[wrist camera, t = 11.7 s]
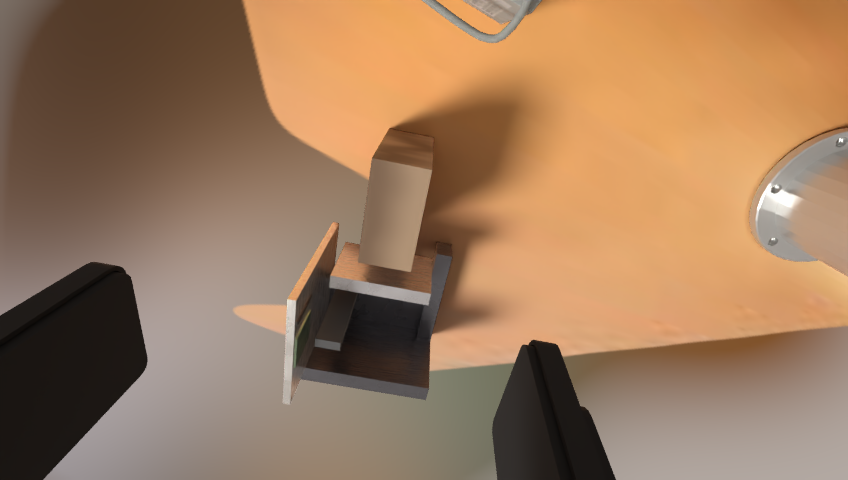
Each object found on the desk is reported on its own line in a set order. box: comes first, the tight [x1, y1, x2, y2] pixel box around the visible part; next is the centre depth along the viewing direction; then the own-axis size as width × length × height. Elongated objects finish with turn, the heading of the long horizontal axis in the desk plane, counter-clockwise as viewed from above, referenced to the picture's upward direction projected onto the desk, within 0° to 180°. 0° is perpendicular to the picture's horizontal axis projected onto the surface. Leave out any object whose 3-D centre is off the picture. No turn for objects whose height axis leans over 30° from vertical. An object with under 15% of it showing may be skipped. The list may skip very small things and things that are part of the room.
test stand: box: [283, 222, 452, 404], centre depth 36 cm, size 12×12×13 cm
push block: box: [358, 128, 434, 272], centre depth 32 cm, size 4×8×10 cm, turn 169°
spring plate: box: [329, 242, 432, 305], centre depth 35 cm, size 8×3×6 cm, turn 79°
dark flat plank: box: [315, 289, 358, 351], centre depth 35 cm, size 2×1×10 cm, turn 79°
